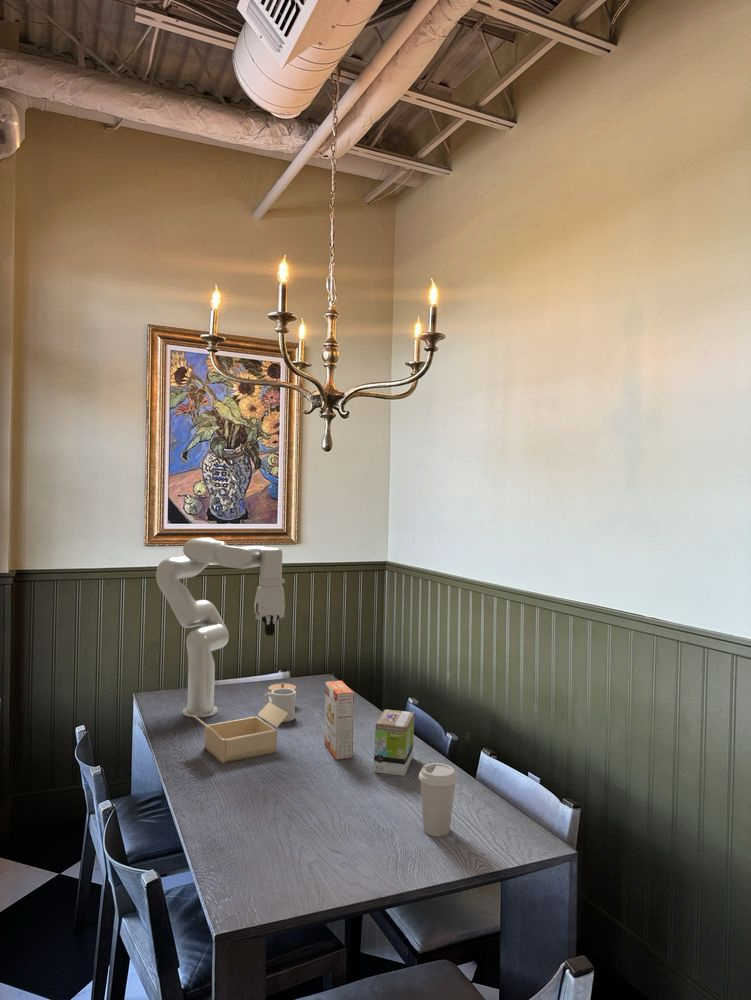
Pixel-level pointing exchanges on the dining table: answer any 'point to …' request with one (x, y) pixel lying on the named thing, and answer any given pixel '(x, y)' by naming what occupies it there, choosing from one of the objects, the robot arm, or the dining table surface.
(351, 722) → the cracker box
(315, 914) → the dining table surface
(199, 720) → the flap near
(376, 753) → the tea box
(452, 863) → the dining table surface
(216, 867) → the dining table surface
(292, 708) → the mug
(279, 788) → the dining table surface
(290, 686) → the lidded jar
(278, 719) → the flap far
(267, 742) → the carton
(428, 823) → the coffee cup
